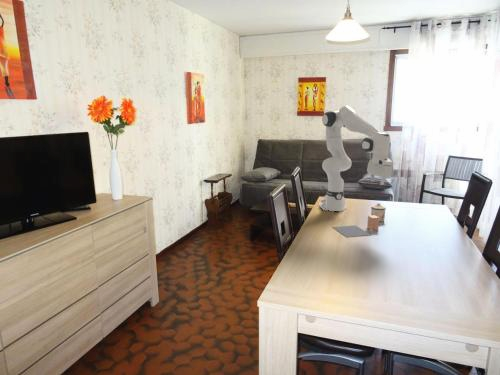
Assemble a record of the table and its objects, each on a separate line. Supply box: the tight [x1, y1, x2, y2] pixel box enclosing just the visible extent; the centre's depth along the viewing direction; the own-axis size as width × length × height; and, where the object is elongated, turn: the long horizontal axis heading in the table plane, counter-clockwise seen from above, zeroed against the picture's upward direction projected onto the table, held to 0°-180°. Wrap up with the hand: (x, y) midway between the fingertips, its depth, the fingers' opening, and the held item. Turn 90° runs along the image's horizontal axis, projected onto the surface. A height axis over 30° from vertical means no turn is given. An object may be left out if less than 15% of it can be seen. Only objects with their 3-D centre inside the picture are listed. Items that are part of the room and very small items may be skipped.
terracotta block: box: [366, 214, 380, 231], centre depth 214 cm, size 5×4×8 cm
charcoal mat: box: [332, 225, 372, 238], centre depth 210 cm, size 18×16×1 cm
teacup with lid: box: [370, 202, 386, 223], centre depth 233 cm, size 12×9×12 cm
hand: (377, 183), depth 208 cm, fingers open, 8 cm apart
